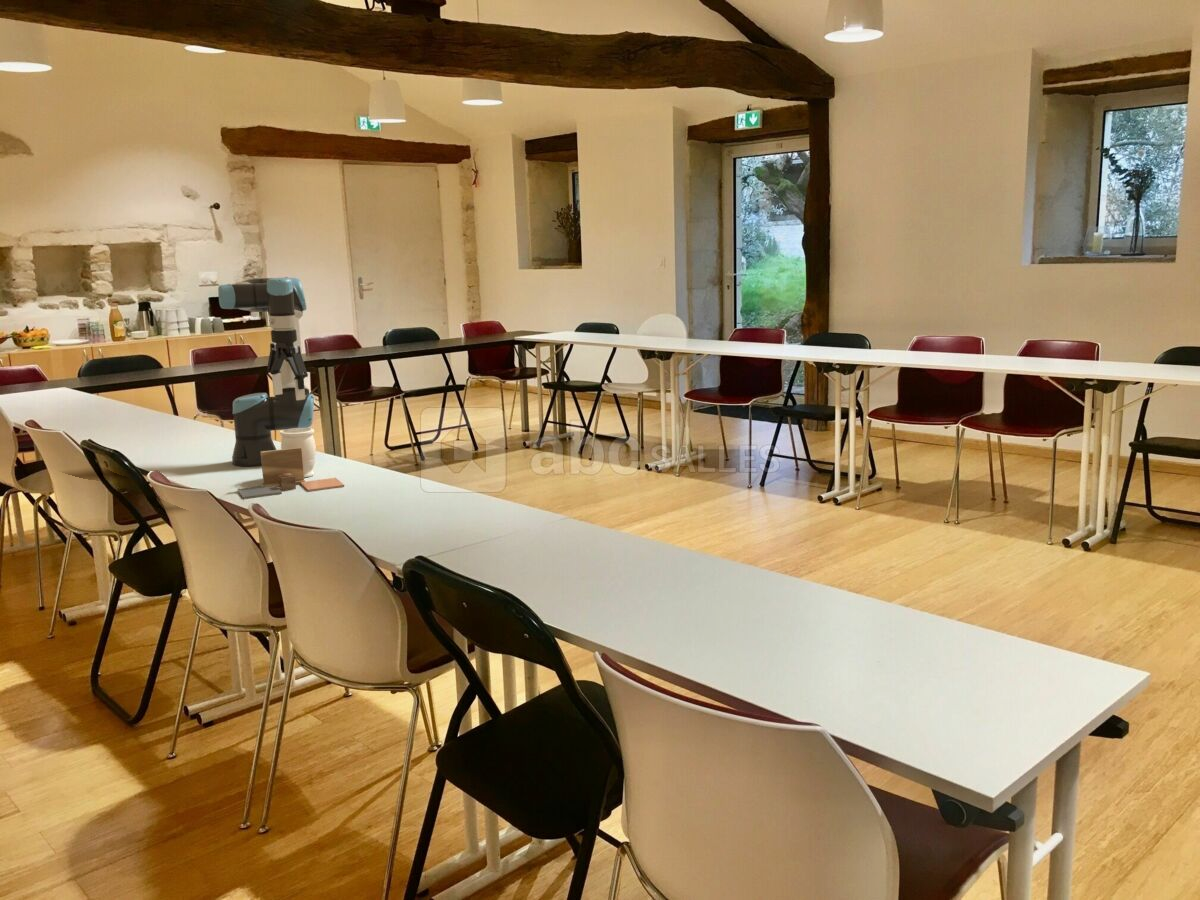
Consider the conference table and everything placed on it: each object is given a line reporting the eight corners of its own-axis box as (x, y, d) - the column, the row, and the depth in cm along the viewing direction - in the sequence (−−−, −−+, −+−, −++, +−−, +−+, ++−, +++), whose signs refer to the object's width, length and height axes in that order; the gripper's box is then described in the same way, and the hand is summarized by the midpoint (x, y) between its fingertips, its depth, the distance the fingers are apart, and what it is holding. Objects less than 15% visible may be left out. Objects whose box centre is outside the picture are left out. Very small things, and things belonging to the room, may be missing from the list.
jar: (322, 472, 326) (319, 427, 323) (310, 479, 316) (306, 433, 313) (291, 471, 327) (287, 427, 324) (278, 479, 317) (274, 433, 314)
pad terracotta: (300, 484, 311) (300, 482, 311) (335, 479, 316) (335, 477, 316) (308, 491, 301) (308, 489, 301) (344, 486, 306) (344, 484, 306)
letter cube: (280, 487, 307) (278, 473, 306) (293, 486, 308) (292, 472, 307) (282, 490, 303) (281, 476, 302) (295, 488, 305) (294, 474, 304)
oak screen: (262, 485, 310) (259, 450, 308) (301, 480, 316) (299, 446, 314) (265, 488, 306) (262, 453, 304) (305, 483, 312) (302, 449, 309)
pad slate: (237, 491, 304) (237, 489, 304) (274, 486, 309) (274, 484, 309) (243, 498, 294) (243, 496, 294) (281, 493, 299) (281, 491, 299)
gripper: (252, 327, 312) (258, 394, 317) (293, 333, 295) (299, 403, 300) (274, 325, 317) (279, 390, 322) (315, 330, 300) (321, 400, 305)
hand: (289, 397), depth 311 cm, fingers open, 13 cm apart
